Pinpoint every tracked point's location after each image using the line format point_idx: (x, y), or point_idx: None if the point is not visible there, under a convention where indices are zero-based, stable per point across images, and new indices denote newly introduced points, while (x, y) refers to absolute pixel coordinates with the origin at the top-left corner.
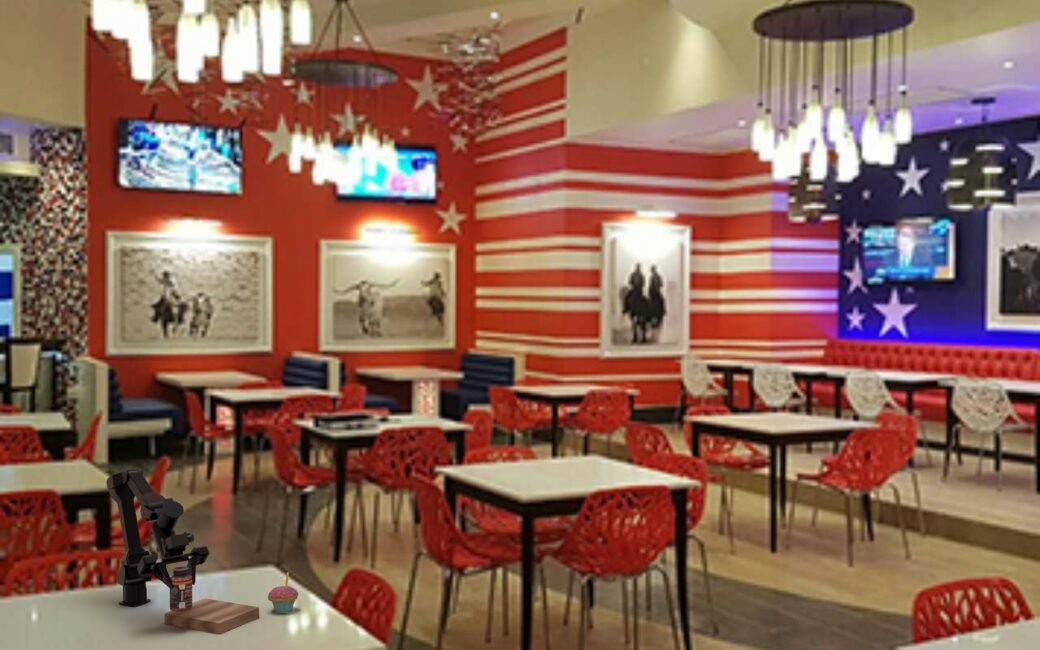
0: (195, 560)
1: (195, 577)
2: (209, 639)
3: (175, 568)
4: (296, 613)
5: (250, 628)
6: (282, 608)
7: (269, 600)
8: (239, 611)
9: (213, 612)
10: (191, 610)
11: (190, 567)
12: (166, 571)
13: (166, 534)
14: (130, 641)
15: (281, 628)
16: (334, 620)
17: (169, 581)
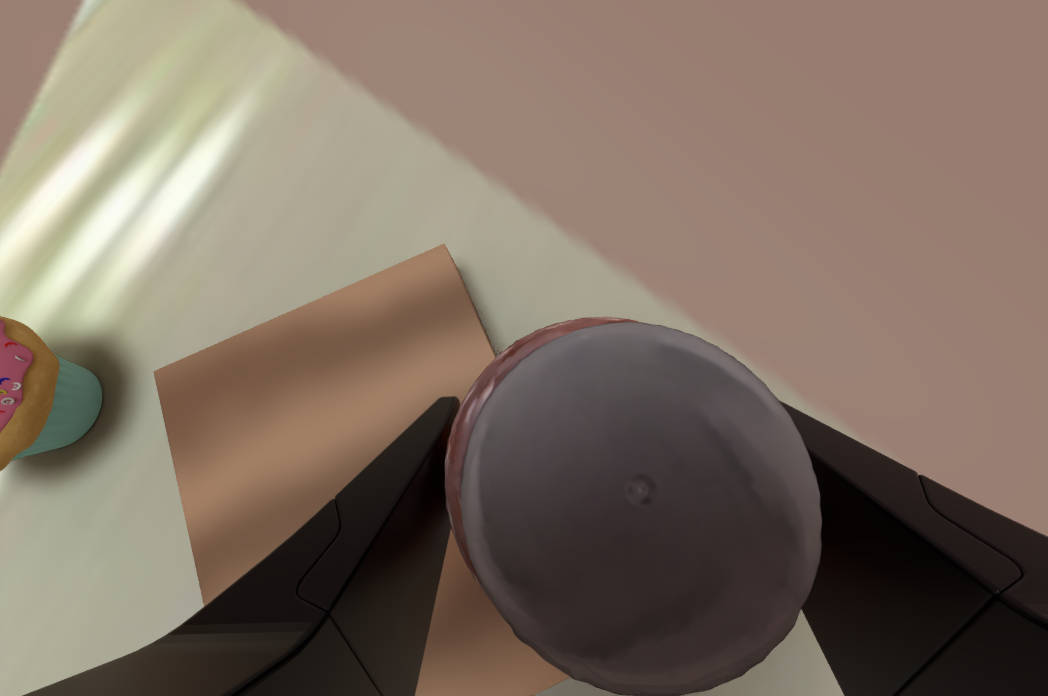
0: (90, 690)
1: (404, 430)
2: (520, 231)
3: (766, 567)
4: (58, 333)
5: (319, 262)
6: (68, 361)
7: (51, 405)
8: (267, 367)
9: (378, 445)
10: (458, 584)
11: (356, 627)
12: (986, 555)
13: None
14: (847, 432)
15: (232, 187)
16: (37, 157)
17: (802, 420)
